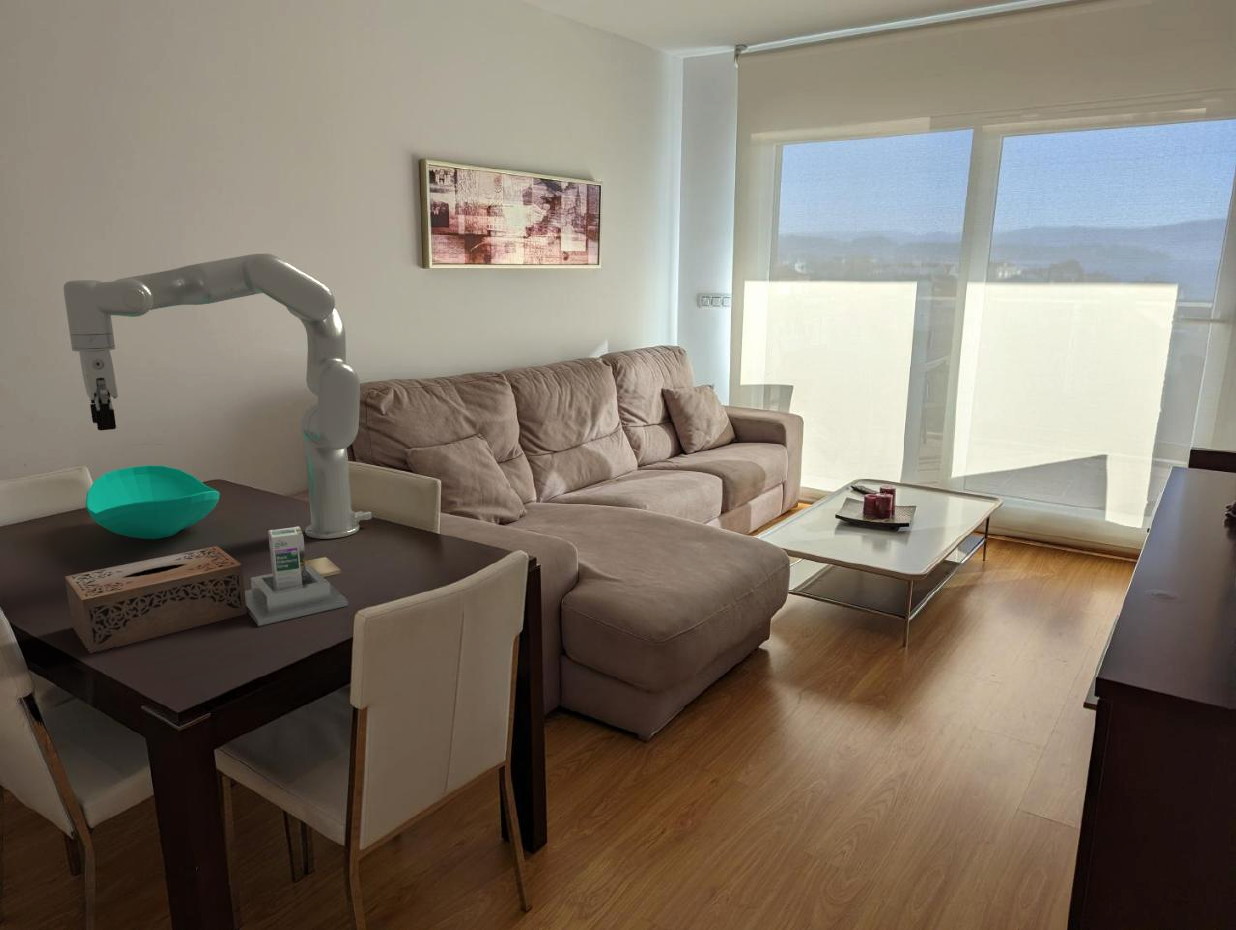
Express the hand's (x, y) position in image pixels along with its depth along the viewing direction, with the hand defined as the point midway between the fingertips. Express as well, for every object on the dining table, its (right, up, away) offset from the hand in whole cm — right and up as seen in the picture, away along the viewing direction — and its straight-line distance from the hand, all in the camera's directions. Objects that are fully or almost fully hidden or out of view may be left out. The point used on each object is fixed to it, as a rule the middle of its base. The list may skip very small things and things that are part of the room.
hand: (104, 425), depth 177 cm
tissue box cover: (+22, -37, -19) cm, 47 cm away
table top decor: (-5, -25, +30) cm, 40 cm away
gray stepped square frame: (+43, -35, -10) cm, 56 cm away
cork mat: (+40, -31, +6) cm, 51 cm away
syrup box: (+43, -35, -10) cm, 56 cm away
